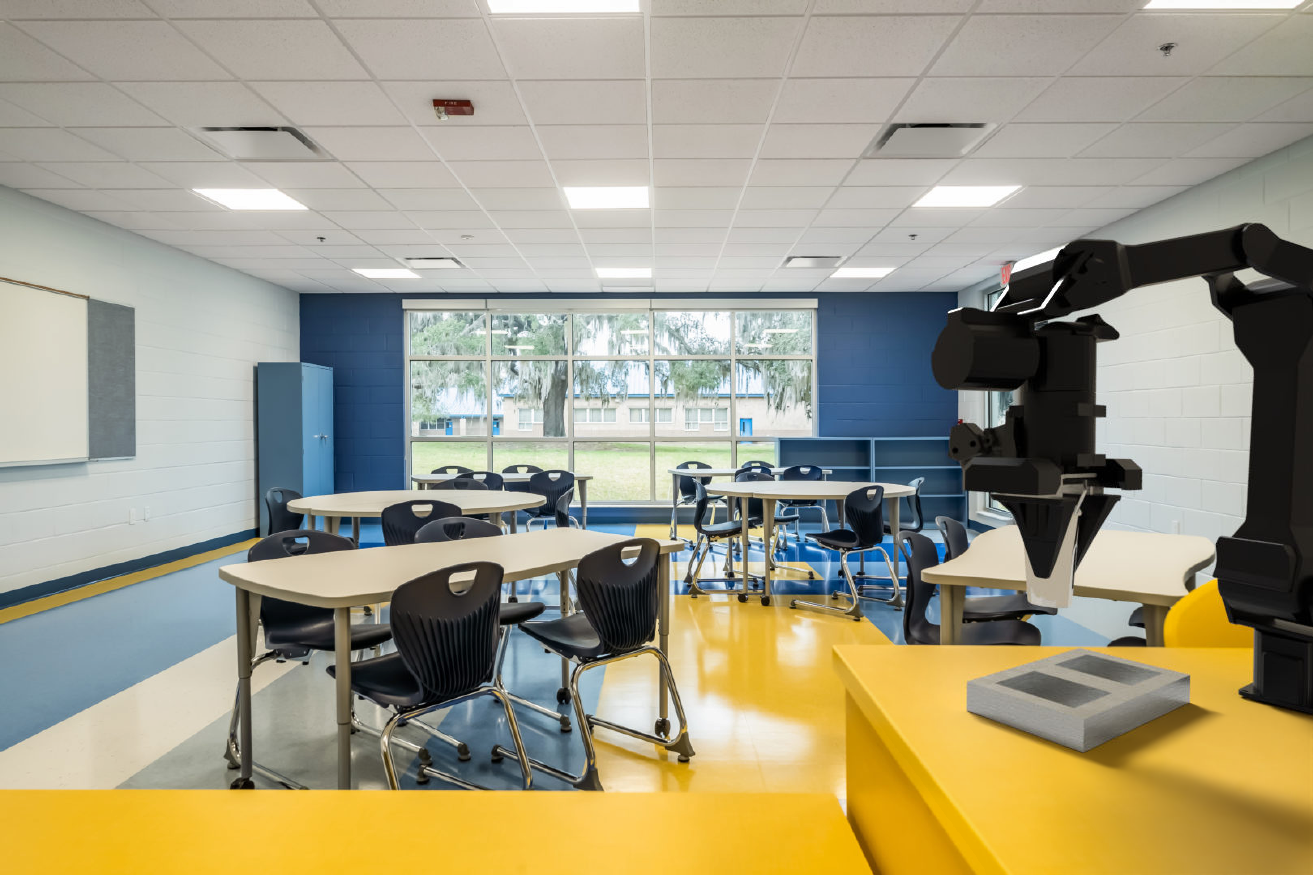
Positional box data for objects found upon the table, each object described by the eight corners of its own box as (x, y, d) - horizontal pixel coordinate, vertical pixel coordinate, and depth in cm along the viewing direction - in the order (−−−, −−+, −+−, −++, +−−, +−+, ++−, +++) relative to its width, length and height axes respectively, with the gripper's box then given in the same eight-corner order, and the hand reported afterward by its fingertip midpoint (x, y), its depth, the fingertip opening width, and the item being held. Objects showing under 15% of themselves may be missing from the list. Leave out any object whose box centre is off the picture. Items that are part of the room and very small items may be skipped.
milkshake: (1065, 614, 55) (1067, 490, 55) (1007, 600, 60) (1009, 486, 60) (1102, 609, 57) (1103, 490, 57) (1043, 596, 62) (1044, 485, 62)
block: (1079, 672, 71) (1079, 647, 71) (1189, 702, 63) (1190, 674, 63) (966, 710, 60) (967, 681, 60) (1083, 752, 52) (1083, 719, 52)
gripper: (1022, 402, 71) (1020, 553, 71) (907, 393, 60) (905, 570, 60) (1145, 397, 61) (1144, 571, 61) (1035, 385, 51) (1033, 594, 51)
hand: (1054, 575), depth 59 cm, fingers closed on milkshake, 4 cm apart
